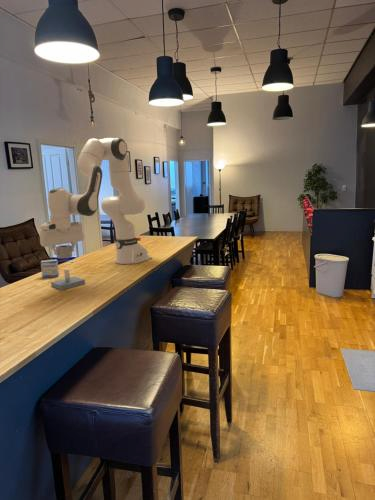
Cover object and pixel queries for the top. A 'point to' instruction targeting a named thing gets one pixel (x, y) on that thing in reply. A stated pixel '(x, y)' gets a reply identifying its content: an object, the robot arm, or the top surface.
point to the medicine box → (49, 268)
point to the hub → (64, 251)
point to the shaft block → (67, 281)
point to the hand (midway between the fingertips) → (64, 253)
